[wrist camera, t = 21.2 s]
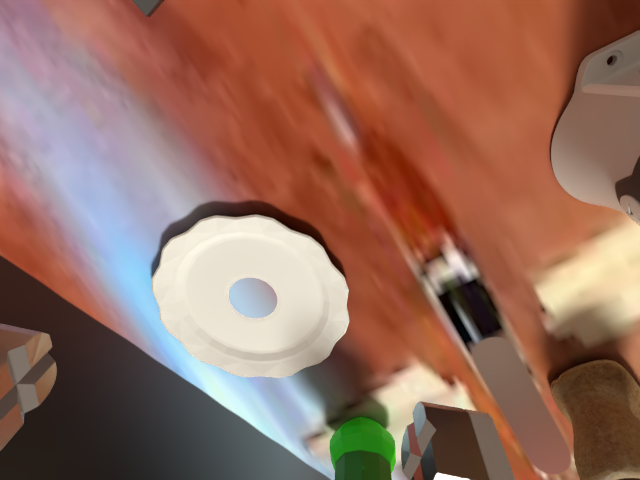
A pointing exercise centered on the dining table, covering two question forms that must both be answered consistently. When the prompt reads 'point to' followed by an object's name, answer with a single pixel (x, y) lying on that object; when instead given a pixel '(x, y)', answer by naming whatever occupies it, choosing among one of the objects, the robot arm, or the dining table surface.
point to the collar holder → (148, 6)
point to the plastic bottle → (362, 451)
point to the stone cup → (602, 419)
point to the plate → (256, 262)
